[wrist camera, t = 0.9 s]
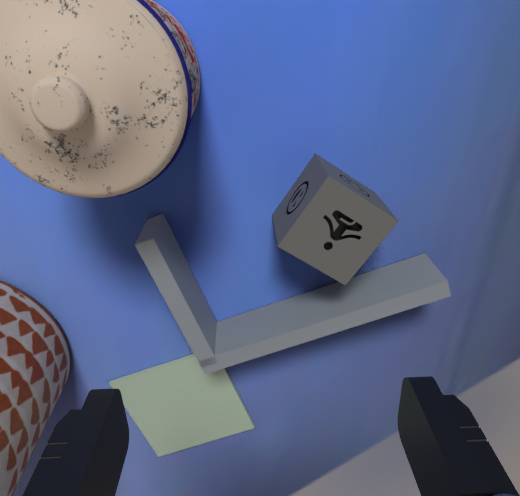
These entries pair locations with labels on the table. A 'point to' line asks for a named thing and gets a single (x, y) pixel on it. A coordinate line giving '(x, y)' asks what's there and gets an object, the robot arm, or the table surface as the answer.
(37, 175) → the teacup with lid
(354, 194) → the dice cube
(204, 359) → the pen walls
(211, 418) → the mat
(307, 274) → the table surface
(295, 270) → the table surface
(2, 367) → the planter
